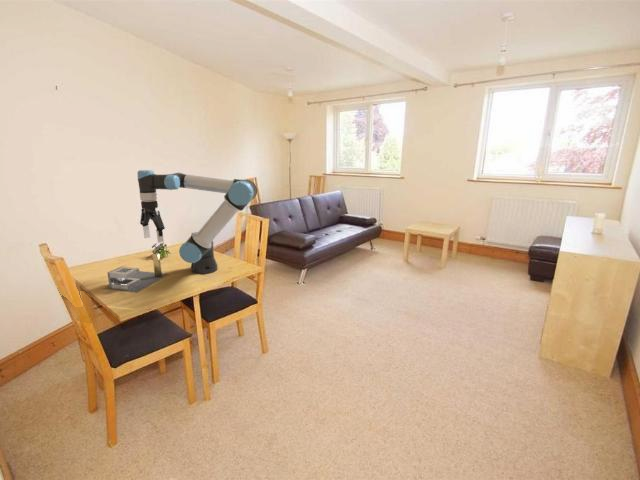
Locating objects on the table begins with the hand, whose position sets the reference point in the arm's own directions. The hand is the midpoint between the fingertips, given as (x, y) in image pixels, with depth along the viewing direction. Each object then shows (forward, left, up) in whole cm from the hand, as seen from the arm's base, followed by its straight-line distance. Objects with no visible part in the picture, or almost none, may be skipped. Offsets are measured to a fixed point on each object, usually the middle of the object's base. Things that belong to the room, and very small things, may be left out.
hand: (153, 239), depth 166 cm
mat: (+6, +8, -22) cm, 24 cm away
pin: (0, 0, -21) cm, 21 cm away
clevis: (+7, +15, -21) cm, 27 cm away
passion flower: (+21, -32, -22) cm, 44 cm away
